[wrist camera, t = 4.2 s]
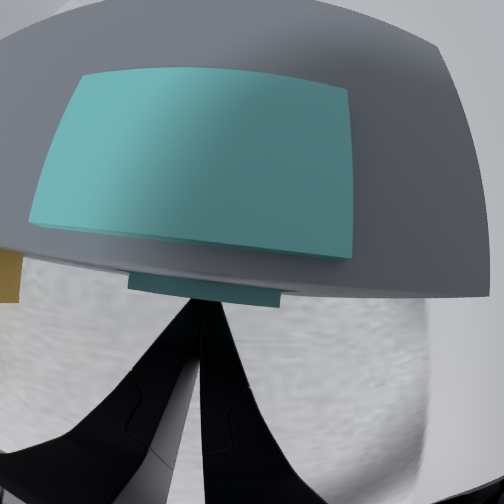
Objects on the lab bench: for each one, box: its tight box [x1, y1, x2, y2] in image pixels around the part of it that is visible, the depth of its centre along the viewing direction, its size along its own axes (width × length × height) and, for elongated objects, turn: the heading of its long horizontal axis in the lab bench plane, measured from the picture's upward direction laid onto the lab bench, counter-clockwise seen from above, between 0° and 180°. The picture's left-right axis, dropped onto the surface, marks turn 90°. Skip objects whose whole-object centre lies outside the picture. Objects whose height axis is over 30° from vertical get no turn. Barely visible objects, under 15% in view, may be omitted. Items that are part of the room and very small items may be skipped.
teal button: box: [128, 271, 281, 308], centre depth 9 cm, size 4×4×4 cm
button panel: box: [0, 0, 490, 298], centre depth 10 cm, size 6×20×14 cm, turn 84°
